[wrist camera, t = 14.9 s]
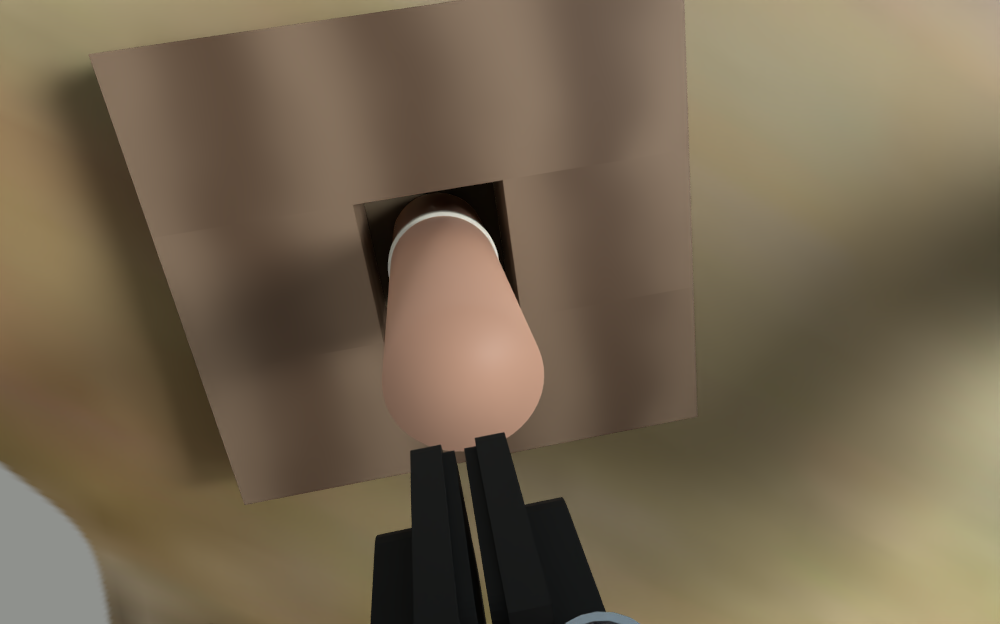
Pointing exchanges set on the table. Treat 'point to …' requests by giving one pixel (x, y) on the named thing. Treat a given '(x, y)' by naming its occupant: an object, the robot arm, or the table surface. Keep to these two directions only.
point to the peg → (454, 330)
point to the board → (409, 171)
